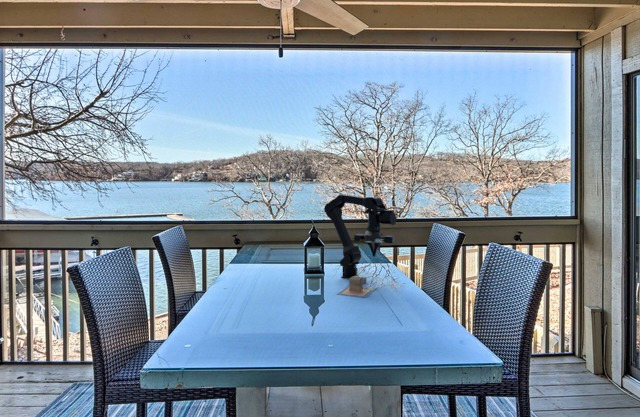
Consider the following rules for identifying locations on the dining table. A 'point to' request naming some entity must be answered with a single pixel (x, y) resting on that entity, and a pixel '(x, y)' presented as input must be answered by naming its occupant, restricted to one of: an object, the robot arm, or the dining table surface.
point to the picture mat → (363, 294)
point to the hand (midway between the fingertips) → (374, 256)
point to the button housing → (364, 280)
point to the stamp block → (355, 284)
